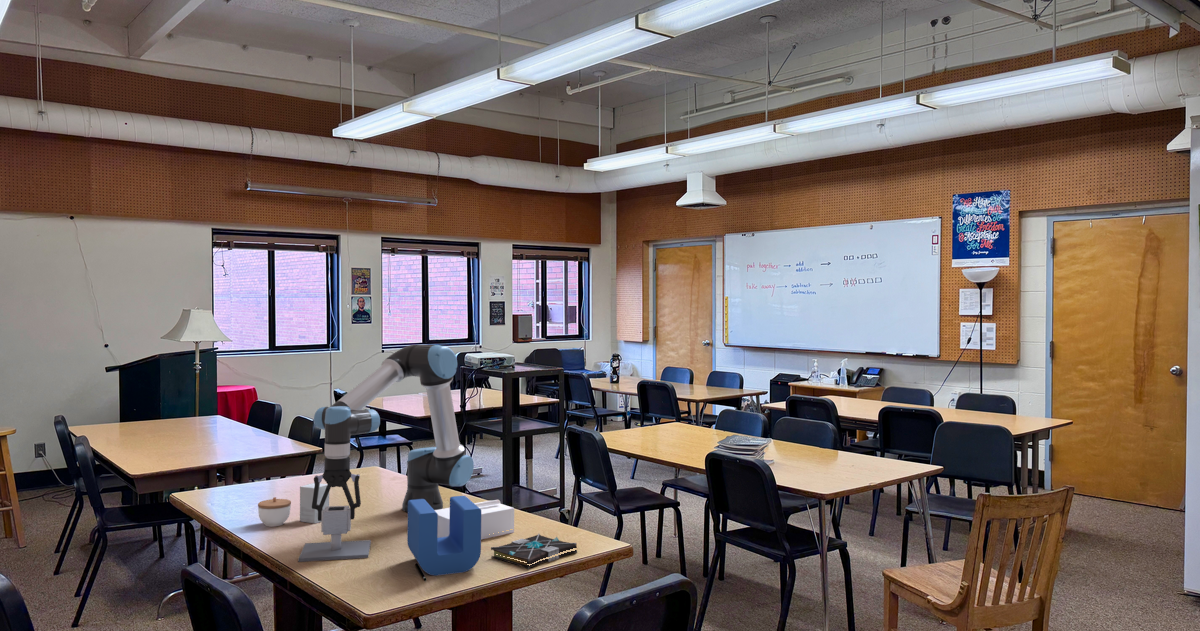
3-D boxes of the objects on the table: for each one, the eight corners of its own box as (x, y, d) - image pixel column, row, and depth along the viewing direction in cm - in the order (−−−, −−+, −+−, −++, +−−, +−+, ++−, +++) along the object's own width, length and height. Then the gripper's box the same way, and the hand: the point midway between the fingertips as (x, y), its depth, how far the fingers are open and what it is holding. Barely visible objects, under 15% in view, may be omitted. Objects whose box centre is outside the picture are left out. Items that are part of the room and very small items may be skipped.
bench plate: (370, 543, 255) (371, 518, 255) (368, 557, 240) (368, 531, 240) (305, 546, 251) (305, 521, 251) (298, 561, 235) (298, 534, 235)
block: (418, 577, 222) (419, 514, 222) (407, 559, 239) (407, 500, 239) (480, 570, 230) (481, 508, 230) (465, 553, 246) (466, 495, 246)
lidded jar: (278, 529, 270) (279, 501, 270) (251, 527, 272) (251, 500, 272) (296, 521, 281) (297, 495, 281) (269, 519, 283) (270, 493, 283)
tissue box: (427, 537, 264) (428, 504, 264) (490, 524, 281) (490, 493, 281) (450, 546, 253) (450, 512, 253) (514, 533, 270) (514, 501, 270)
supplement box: (329, 519, 284) (330, 484, 284) (314, 524, 278) (314, 488, 278) (314, 516, 288) (314, 482, 288) (298, 521, 281) (299, 486, 281)
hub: (348, 527, 249) (349, 505, 249) (347, 533, 243) (347, 510, 243) (325, 528, 248) (325, 506, 248) (323, 534, 241) (323, 511, 241)
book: (528, 570, 231) (529, 553, 231) (489, 559, 242) (489, 542, 242) (577, 554, 248) (577, 538, 248) (538, 543, 258) (539, 528, 258)
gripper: (371, 453, 251) (370, 525, 251) (304, 455, 247) (303, 528, 247) (370, 457, 244) (368, 532, 244) (301, 459, 239) (300, 535, 239)
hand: (336, 530), depth 245 cm, fingers closed on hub, 7 cm apart
